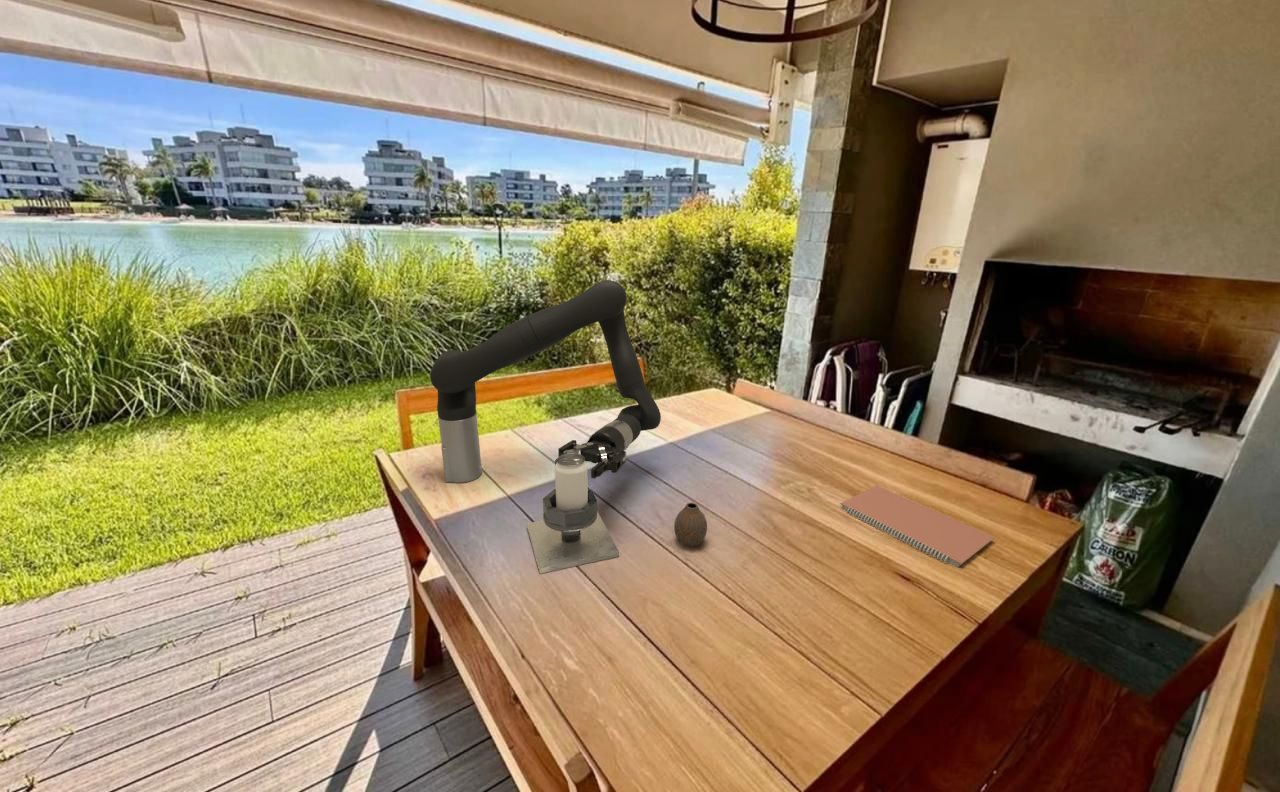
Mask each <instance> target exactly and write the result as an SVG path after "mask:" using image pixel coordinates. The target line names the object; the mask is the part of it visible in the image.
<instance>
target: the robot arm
mask: <svg viewBox="0 0 1280 792" xmlns="http://www.w3.org/2000/svg"><path fill="white" fill-rule="evenodd" d="M627 299H628V298H627V293H626V290H625V288H624V286H623V285H621V284H620V283H619V282H617V281H615V280H611V279H605V280H601V281H599V282H596V283H594V285H592V286H591V287H590V288H588V289H586V290H585V291H583V292H581V293H579V294H578V295H576V296H573V297H572V298H570V299H569V300H567V301H564V302H561V303H558V304H556V305H553V306H550V307H546V308H543V309H542V310H539V311H536V312H533V313H531V314H528V315H526V316H524V317H522V318H520V319H518V320H516V321H514V322H512V323H510V324H508V325H507V326H505V327H503V328H502V329H500V330H499V331H498V332H496V333H494V334H493V335H492V336H490V337H489V338H488V339H485V341H483V342H482V343H481V344H478V345H477V346H475V347H472V348H470V349H467V350H464V351H460V350H456V349H451V350H447V351H444V352H443V353H441V354H440V355H438V357H437V358H436V359H435V362H434V363H433V364H432V367H431V369H430V375H429V377H430V382H431V385H432V386H433V387H434V388H435V389H436V391H437V402H436V403H437V405H436V411H437V418H438V427H439V434H440V435H439V436H440V444H441V455H442V462H443V463H442V465H443V471H444V472H443V473H444V481H445V483H456V484H459V483H467V482H472V481H474V480H476V479H478V478H479V477H481V476H482V474H483V469H482V465H483V464H482V458H481V447H480V438H479V437H480V436H479V425H478V416H477V414H478V413H477V390H476V383H477V382H479V381H480V380H482V379H483V378H486V377H487V376H488V375H491V374H492V373H494V372H496V371H498V370H499V371H500V370H502V369H505V368H506V367H509V366H511V365H514V364H516V363H518V362H519V363H520V361H523V360H526V359H527V358H531V357H532V356H536V355H537V354H538V353H540V352H543V351H545V350H547V349H549V348H551V347H553V346H555V345H556V344H558V343H560V342H561V341H563V340H565V338H567V337H569V336H570V335H572V334H574V333H576V332H577V331H579V330H581V329H582V328H585V327H588V326H591V325H593V324H595V323H598V324H599V326H600V329H601V331H602V334H603V337H604V340H605V343H606V347H607V350H608V354H609V357H610V363H611V367H612V370H613V375H614V379H615V381H616V385H617V389H618V392H619V395H620V397H622V398H624V399H631V400H634V401H635V402H636V404H632V405H628V406H625V407H623V408H622V409H621V410H620V412H619V413H618V415H617V417H616V418H615V419H614V420H613V421H610V422H608V423H607V424H605V425H603V426H602V427H601V428H599V429H598V430H597V431H595V432H594V433H593V434H592V435H590V437H589V438H588V440H587V441H586V442H585V443H581V444H578V443H577V440H575V439H572V440H570V441H569V442H567V443H565V444H563V445H562V446H560V447H559V448H557V449H558V450H557V451H558V453H557V454H558V457H559V456H561V455H564V454H570V453H575V454H580V455H582V456H584V458H585V462H586V463H587V462H589V463H593V464H596V465H594V466H592V468H591V470H590V476H591V479H594V480H595V479H596V478H599V477H600V476H602V475H603V474H604V473H608V472H609V471H611V473H612V474H613V473H614V474H616V473H617V472H619V471H620V469H621V468H622V467H623V466H624V465H625V463H626V462H627V459H626V458H627V452H626V450H627V449H628V448H629V446H630V445H631V444H632V443H634V442H635V441H636V440H637V439H638V437H639V436H640V435H641V432H642V431H650V430H655V429H657V428H658V427H659V426H660V423H661V418H662V417H661V415H662V414H661V411H660V408H659V406H658V405H657V402H656V401H655V400H654V397H652V395H651V393H650V391H649V389H648V387H647V385H646V383H645V378H644V375H643V372H642V369H641V365H640V362H639V359H638V356H637V354H636V351H635V349H634V346H633V343H632V340H631V337H630V335H629V331H628V327H627V323H626V317H625V307H626V305H627ZM579 452H580V453H579ZM554 463H555V466H556V463H557V458H556V459H555V460H554ZM555 466H554V467H555Z"/></svg>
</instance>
